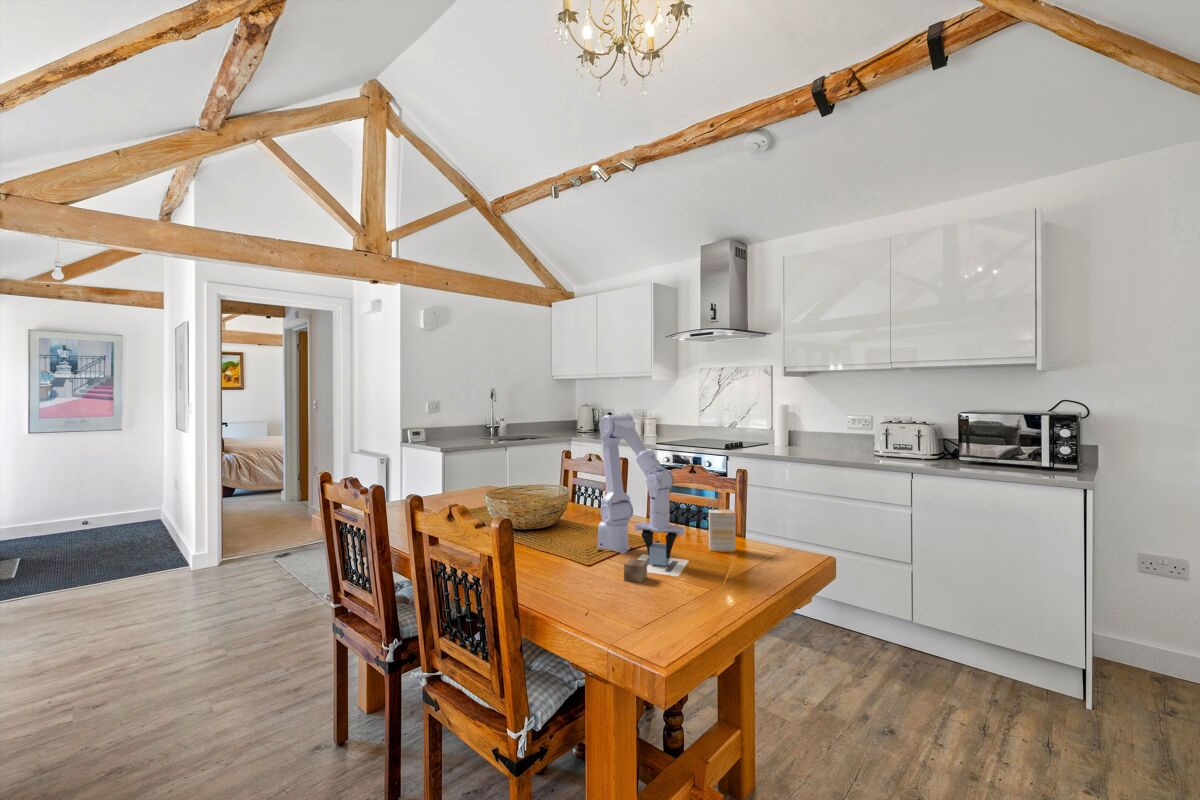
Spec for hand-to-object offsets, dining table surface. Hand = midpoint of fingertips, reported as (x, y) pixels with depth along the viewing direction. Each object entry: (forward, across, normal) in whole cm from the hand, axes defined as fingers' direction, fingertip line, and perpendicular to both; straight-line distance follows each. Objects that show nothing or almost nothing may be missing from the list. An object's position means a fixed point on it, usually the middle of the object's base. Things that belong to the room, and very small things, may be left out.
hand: (659, 556), depth 162 cm
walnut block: (+3, -3, -14) cm, 14 cm away
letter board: (+3, 0, 0) cm, 3 cm away
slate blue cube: (+2, 0, 0) cm, 2 cm away
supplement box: (+3, +15, +22) cm, 27 cm away
